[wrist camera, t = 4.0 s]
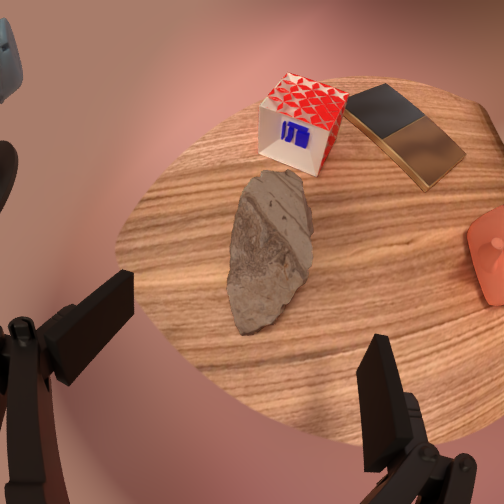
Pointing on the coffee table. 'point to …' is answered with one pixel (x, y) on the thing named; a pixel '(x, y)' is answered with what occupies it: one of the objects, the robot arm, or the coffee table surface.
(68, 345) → the robot arm
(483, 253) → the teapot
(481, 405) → the coffee table surface
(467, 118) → the coffee table surface
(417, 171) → the board
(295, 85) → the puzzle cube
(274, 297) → the stone
